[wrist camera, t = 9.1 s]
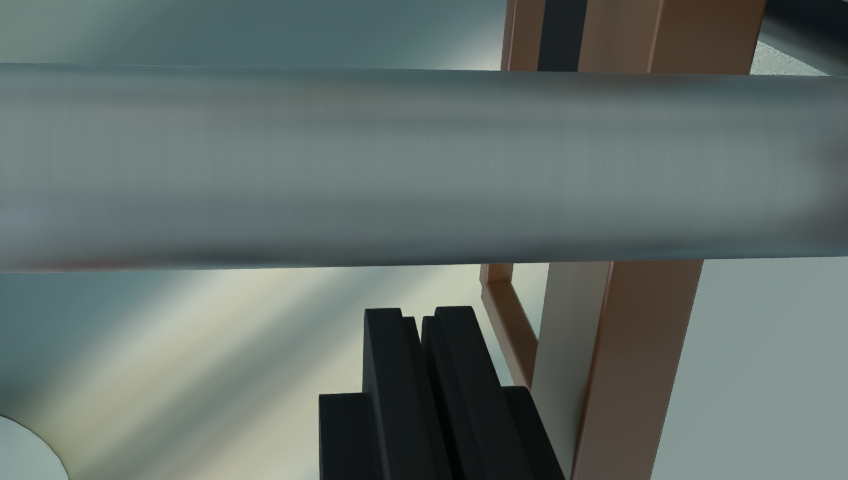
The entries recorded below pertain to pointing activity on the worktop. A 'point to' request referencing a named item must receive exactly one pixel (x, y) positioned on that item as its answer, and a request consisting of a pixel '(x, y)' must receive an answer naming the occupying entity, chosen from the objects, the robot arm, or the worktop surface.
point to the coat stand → (427, 160)
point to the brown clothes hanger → (613, 280)
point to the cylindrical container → (26, 455)
